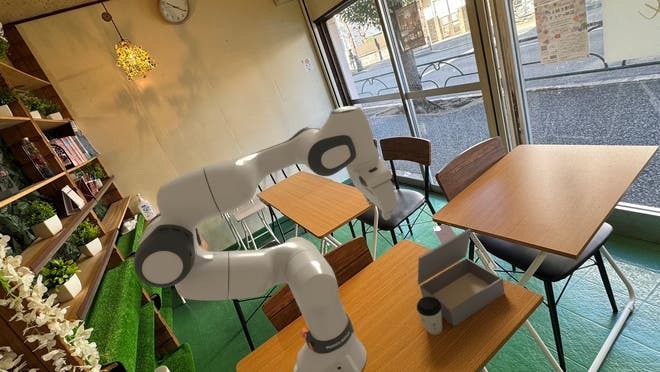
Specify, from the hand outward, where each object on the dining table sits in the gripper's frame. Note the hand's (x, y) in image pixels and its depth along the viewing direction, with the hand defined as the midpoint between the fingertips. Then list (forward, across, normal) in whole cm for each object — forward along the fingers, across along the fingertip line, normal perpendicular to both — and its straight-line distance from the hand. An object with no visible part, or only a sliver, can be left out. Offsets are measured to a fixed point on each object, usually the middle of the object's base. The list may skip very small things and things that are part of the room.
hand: (379, 210), depth 84 cm
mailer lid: (+27, 0, +16) cm, 32 cm away
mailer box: (+40, +6, +16) cm, 43 cm away
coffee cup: (+39, +11, +1) cm, 40 cm away
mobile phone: (+44, -26, +32) cm, 60 cm away
